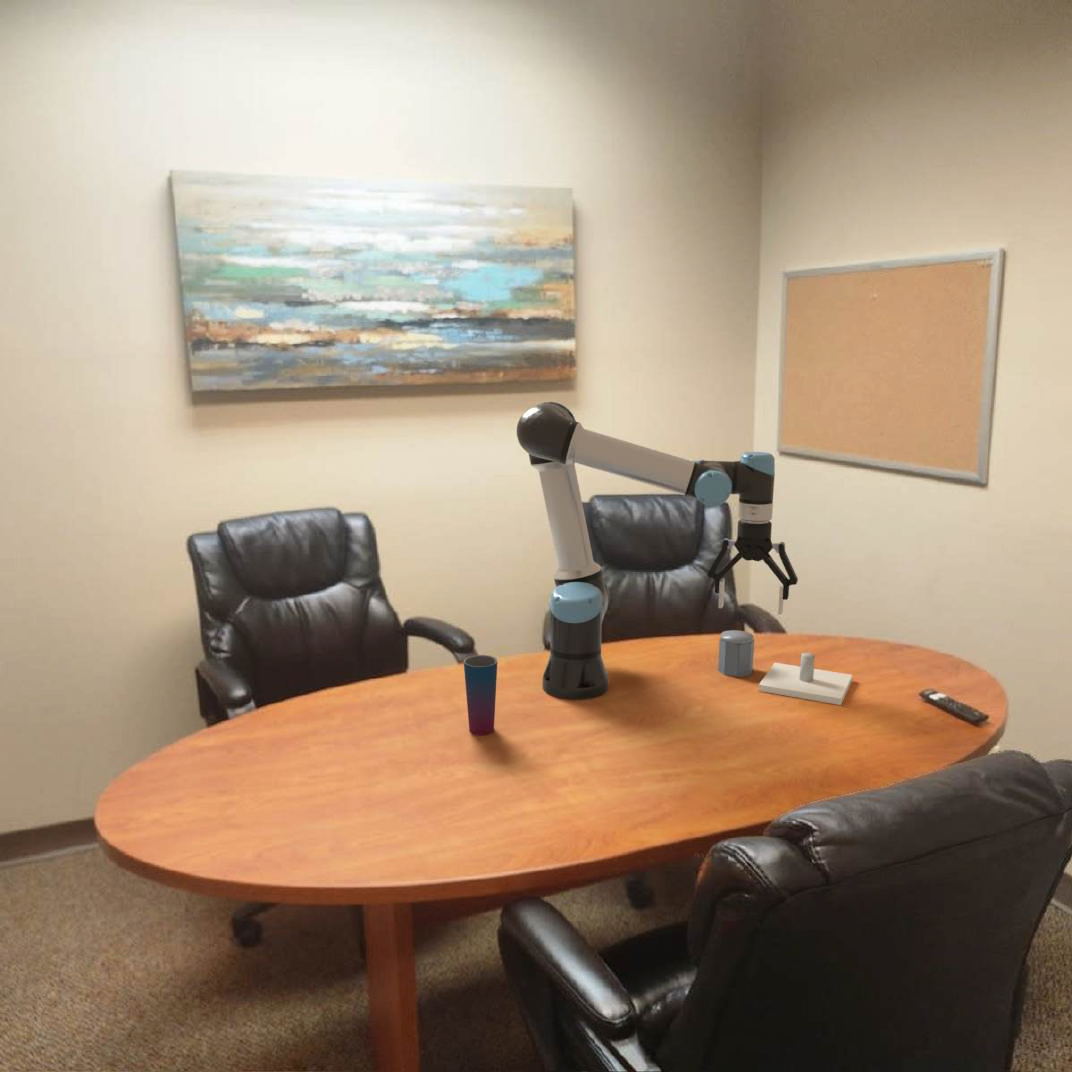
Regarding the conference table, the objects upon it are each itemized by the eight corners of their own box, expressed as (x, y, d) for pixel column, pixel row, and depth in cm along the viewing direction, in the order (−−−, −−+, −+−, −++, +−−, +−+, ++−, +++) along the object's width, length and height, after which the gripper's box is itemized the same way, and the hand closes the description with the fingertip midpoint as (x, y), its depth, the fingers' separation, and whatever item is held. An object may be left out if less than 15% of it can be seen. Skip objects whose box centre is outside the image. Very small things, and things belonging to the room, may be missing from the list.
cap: (715, 673, 212) (717, 637, 210) (724, 663, 218) (725, 628, 216) (747, 678, 208) (748, 642, 206) (754, 668, 215) (756, 633, 213)
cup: (458, 733, 179) (457, 663, 176) (476, 720, 185) (475, 652, 182) (487, 739, 176) (486, 668, 173) (504, 727, 182) (503, 658, 179)
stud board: (758, 690, 201) (760, 659, 199) (774, 668, 215) (776, 639, 213) (841, 705, 193) (843, 672, 191) (852, 680, 207) (854, 650, 205)
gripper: (697, 519, 202) (693, 608, 207) (810, 527, 194) (804, 619, 198) (703, 513, 209) (700, 600, 214) (813, 521, 200) (807, 610, 205)
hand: (750, 609), depth 206 cm, fingers open, 13 cm apart
